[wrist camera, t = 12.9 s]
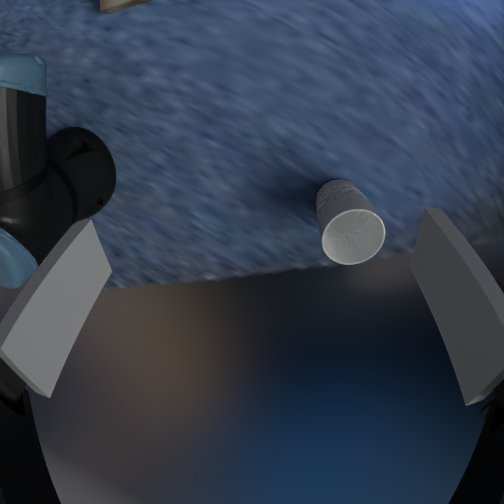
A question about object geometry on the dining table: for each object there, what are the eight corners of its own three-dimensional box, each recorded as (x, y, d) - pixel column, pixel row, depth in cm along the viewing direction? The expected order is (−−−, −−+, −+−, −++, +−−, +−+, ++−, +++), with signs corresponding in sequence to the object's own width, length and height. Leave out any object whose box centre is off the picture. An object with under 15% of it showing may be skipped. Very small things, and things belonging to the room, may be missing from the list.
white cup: (303, 185, 40) (313, 222, 32) (356, 167, 37) (379, 200, 29) (320, 229, 44) (331, 272, 36) (368, 213, 41) (389, 253, 33)
